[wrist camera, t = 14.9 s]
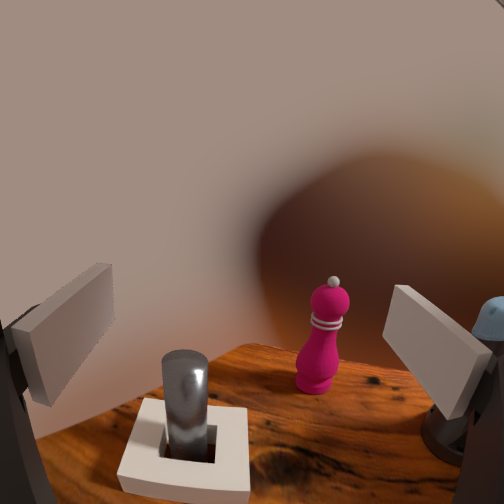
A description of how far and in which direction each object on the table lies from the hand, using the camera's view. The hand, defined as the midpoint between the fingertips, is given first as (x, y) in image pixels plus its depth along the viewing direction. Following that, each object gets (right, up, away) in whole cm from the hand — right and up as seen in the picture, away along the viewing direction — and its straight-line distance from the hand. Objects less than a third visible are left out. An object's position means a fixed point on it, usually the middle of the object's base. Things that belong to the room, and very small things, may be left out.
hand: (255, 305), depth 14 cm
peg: (-8, -24, +19) cm, 31 cm away
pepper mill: (+10, -21, +37) cm, 44 cm away
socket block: (-8, -24, +19) cm, 31 cm away
